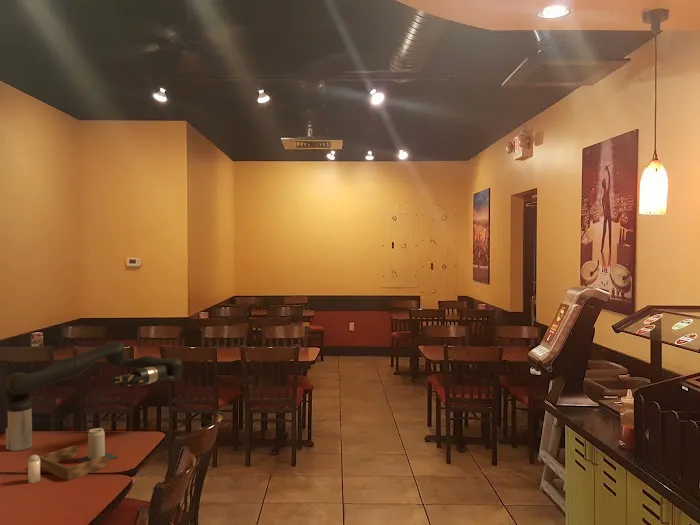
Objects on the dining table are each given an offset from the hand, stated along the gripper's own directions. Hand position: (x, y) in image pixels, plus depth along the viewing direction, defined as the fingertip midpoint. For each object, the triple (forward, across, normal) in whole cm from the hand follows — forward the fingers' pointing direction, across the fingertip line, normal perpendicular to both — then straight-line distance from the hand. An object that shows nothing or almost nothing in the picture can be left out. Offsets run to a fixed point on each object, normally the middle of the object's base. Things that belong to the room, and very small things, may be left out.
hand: (113, 383), depth 242 cm
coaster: (+9, +2, +30) cm, 32 cm away
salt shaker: (+35, +2, +30) cm, 46 cm away
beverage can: (+9, +2, +30) cm, 31 cm away
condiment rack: (+20, +2, +30) cm, 36 cm away
